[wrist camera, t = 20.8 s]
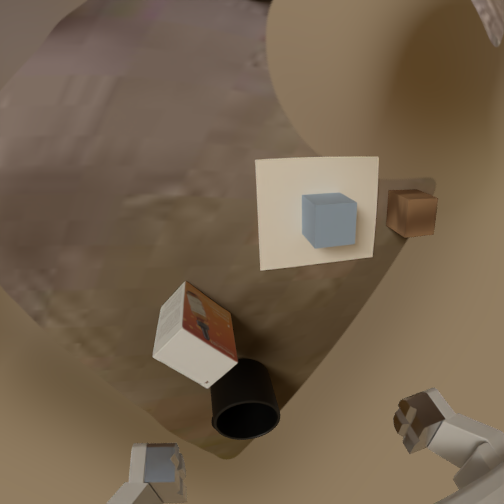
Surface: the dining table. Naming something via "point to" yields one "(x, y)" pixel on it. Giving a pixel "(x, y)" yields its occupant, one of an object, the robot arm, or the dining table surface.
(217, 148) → the dining table surface
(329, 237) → the cube
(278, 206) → the cream flat square panel
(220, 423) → the mug
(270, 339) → the dining table surface
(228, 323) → the small box
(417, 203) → the block
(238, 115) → the dining table surface
